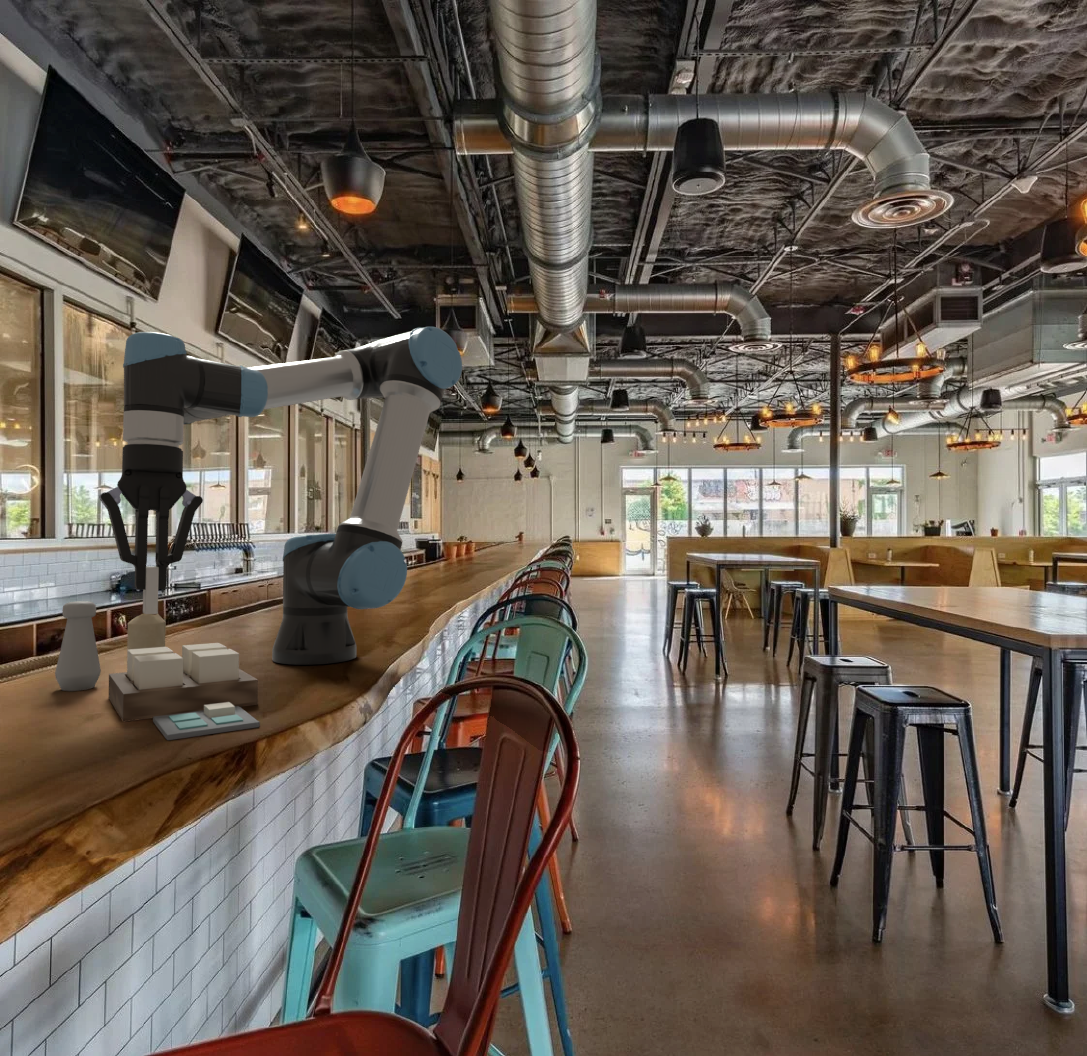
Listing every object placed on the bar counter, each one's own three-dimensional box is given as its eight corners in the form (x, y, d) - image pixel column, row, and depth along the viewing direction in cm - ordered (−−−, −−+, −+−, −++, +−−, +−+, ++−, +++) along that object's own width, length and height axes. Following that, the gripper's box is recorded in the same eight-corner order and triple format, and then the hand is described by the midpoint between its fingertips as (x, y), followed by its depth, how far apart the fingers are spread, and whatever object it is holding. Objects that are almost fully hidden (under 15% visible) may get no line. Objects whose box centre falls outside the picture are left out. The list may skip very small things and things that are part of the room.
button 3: (229, 674, 102) (230, 648, 103) (238, 680, 98) (239, 653, 99) (191, 678, 99) (191, 651, 100) (199, 684, 95) (199, 656, 96)
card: (238, 710, 95) (238, 698, 95) (259, 726, 87) (259, 713, 87) (152, 721, 89) (153, 708, 89) (167, 740, 81) (167, 726, 81)
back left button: (218, 667, 108) (218, 642, 108) (226, 672, 104) (226, 646, 104) (181, 670, 105) (182, 645, 105) (188, 676, 101) (189, 649, 101)
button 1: (166, 672, 104) (166, 646, 104) (172, 677, 100) (173, 651, 100) (127, 675, 101) (127, 649, 101) (131, 681, 97) (132, 654, 97)
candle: (128, 672, 120) (129, 612, 121) (165, 669, 123) (166, 611, 123) (125, 678, 115) (126, 615, 116) (163, 675, 118) (164, 614, 118)
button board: (228, 684, 111) (229, 662, 111) (257, 704, 98) (257, 679, 98) (108, 697, 101) (108, 673, 101) (123, 721, 88) (123, 694, 88)
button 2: (175, 680, 98) (176, 653, 98) (182, 686, 94) (183, 658, 94) (133, 684, 95) (134, 656, 95) (139, 690, 91) (139, 661, 91)
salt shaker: (46, 689, 106) (47, 602, 106) (86, 682, 111) (87, 599, 112) (68, 693, 104) (70, 604, 104) (108, 686, 109) (110, 601, 109)
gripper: (198, 451, 108) (195, 608, 107) (96, 444, 100) (93, 613, 100) (209, 446, 102) (206, 613, 101) (102, 438, 94) (98, 618, 94)
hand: (150, 612), depth 100 cm, fingers closed
